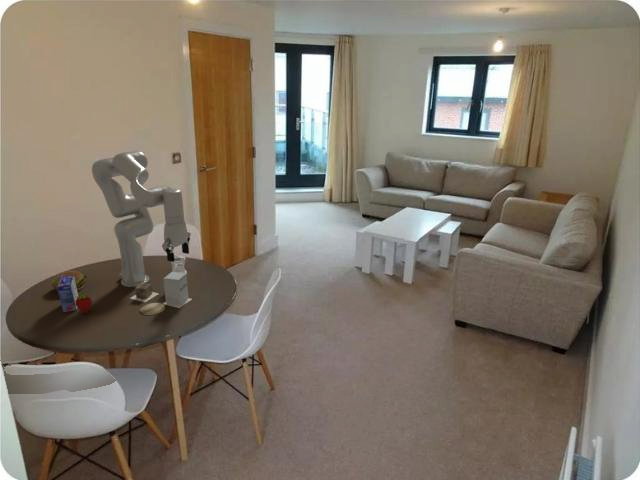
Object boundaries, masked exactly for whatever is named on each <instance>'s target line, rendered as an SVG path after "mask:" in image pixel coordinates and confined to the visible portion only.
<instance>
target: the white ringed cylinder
mask: <svg viewBox="0 0 640 480" xmlns="http://www.w3.org/2000/svg"><path fill="white" fill-rule="evenodd" d="M175 259H180V260H175ZM174 260H175V261H174V262H171V261H169V262H170V264H171V269H172V272H178V273H186V276H187V275H188V272H187V270H186V269H185V268H186V267H185V264H186V257H185V256H184V255H174Z"/></svg>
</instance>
